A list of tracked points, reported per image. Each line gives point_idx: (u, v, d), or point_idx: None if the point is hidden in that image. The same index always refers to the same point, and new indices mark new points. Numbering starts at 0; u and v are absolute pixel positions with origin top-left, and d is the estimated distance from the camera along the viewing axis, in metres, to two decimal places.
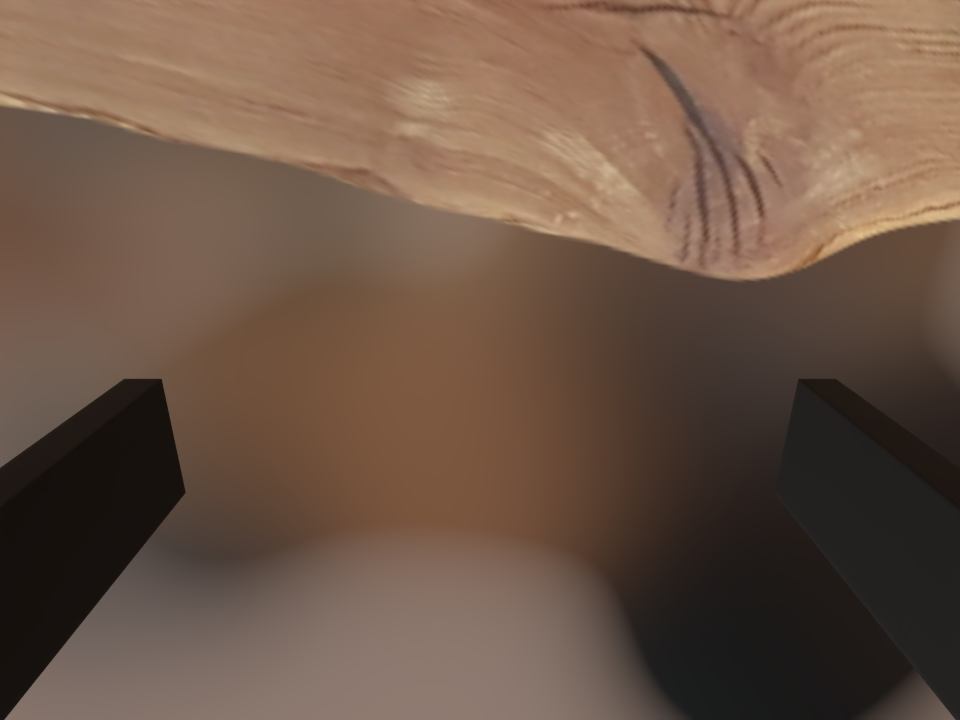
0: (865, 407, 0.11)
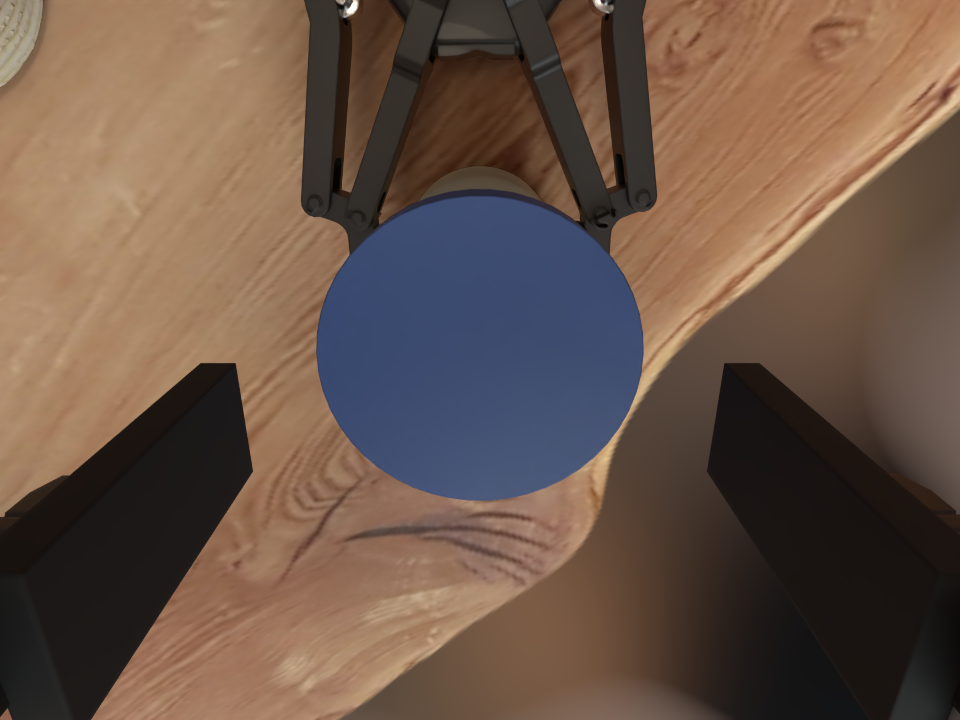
0: (779, 388, 0.12)
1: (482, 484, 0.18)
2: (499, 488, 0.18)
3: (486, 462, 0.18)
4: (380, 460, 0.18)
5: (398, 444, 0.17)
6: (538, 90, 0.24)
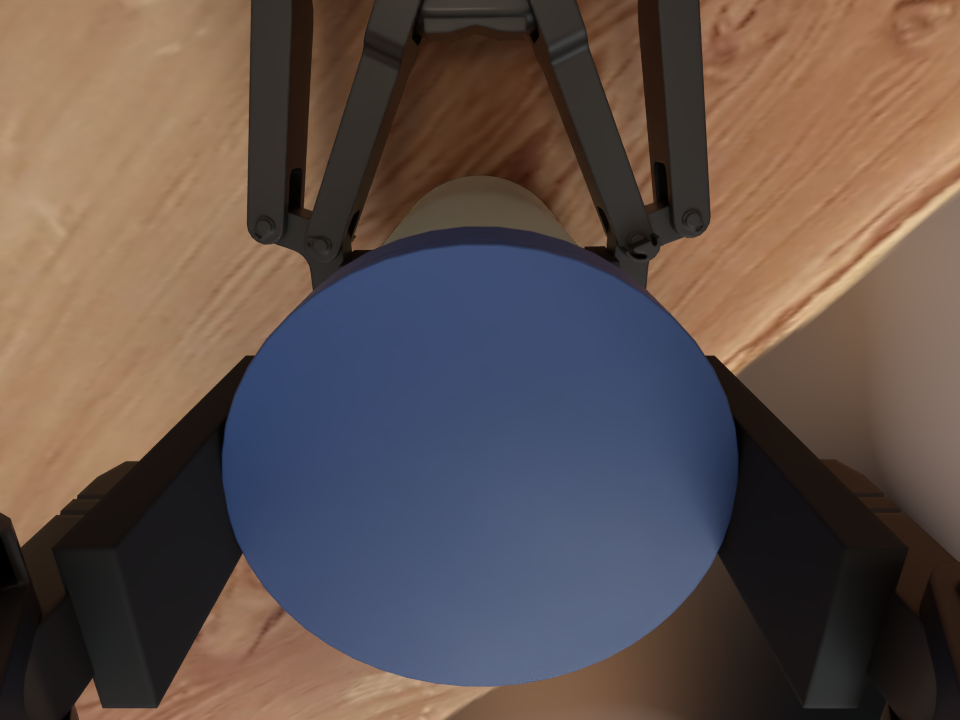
0: (729, 379, 0.12)
1: (483, 665, 0.12)
2: (509, 670, 0.12)
3: (490, 636, 0.12)
4: (329, 634, 0.12)
5: (356, 613, 0.11)
6: (557, 79, 0.18)
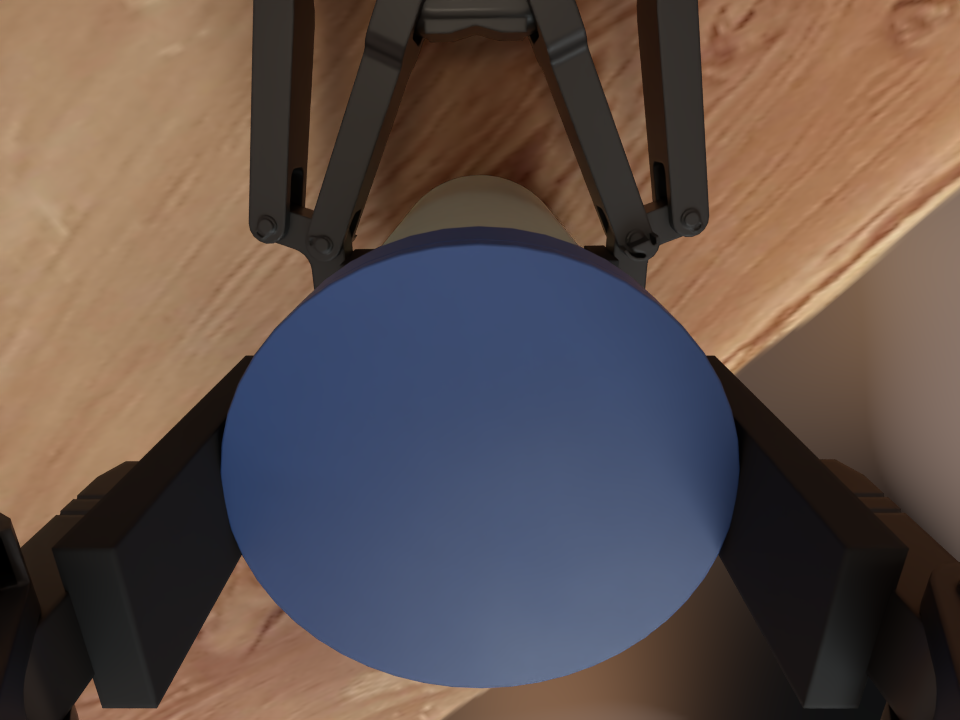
0: (729, 379, 0.12)
1: (672, 575, 0.11)
2: (694, 557, 0.11)
3: (640, 555, 0.11)
4: (555, 670, 0.12)
5: (545, 641, 0.12)
6: (557, 79, 0.19)
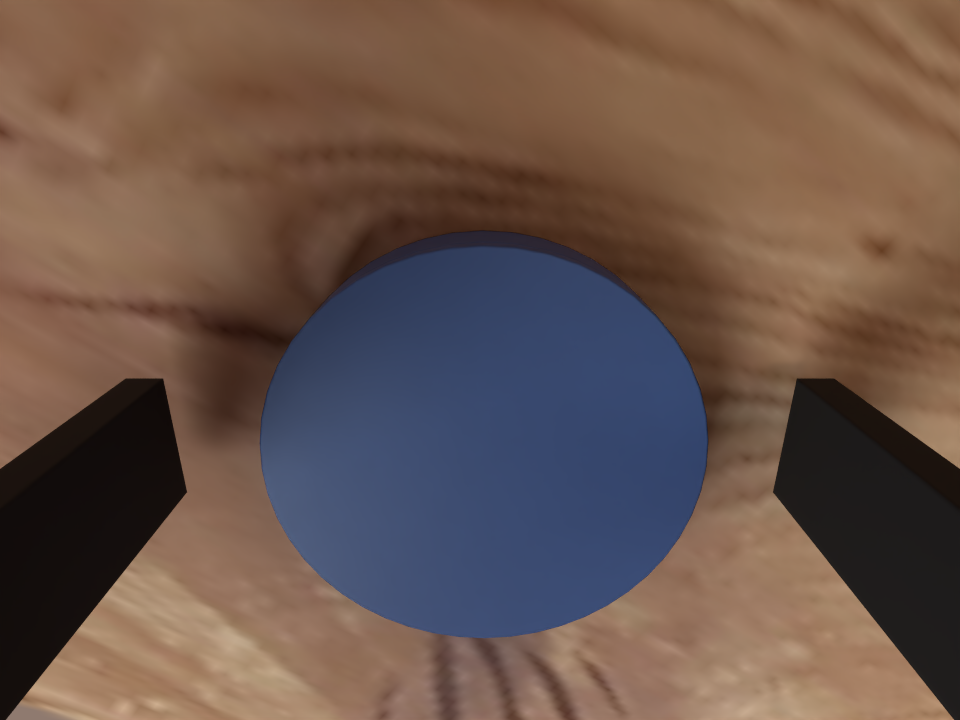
0: (864, 407, 0.11)
1: (651, 534, 0.13)
2: (670, 518, 0.13)
3: (623, 517, 0.13)
4: (550, 621, 0.13)
5: (541, 595, 0.13)
6: None
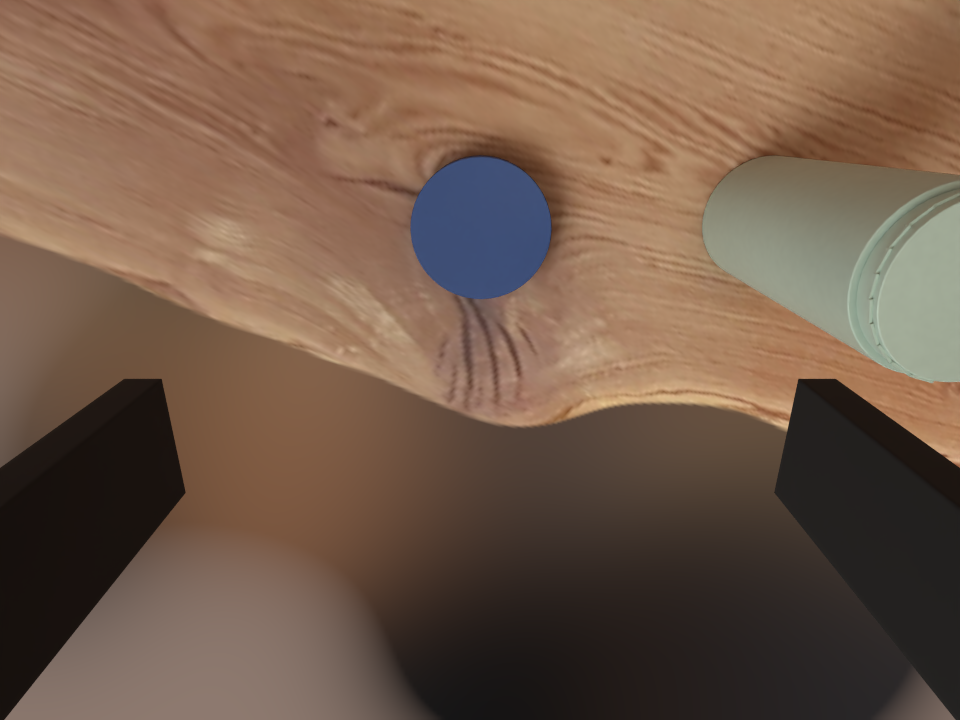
0: (865, 407, 0.11)
1: (535, 256, 0.39)
2: (541, 249, 0.39)
3: (526, 249, 0.39)
4: (503, 291, 0.40)
5: (500, 280, 0.39)
6: None
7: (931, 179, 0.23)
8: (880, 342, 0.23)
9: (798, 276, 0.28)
